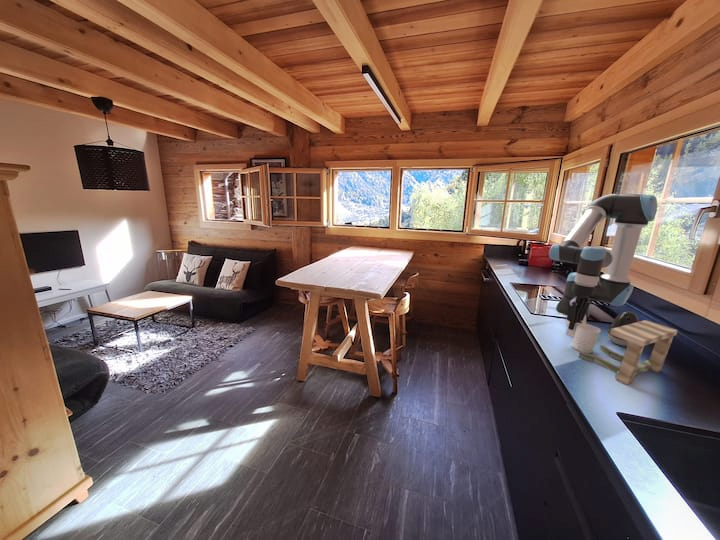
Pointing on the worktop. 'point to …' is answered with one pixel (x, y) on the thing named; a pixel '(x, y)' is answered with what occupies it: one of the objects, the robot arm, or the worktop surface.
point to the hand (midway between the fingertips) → (570, 335)
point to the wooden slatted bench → (636, 349)
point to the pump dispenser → (620, 321)
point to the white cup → (585, 337)
